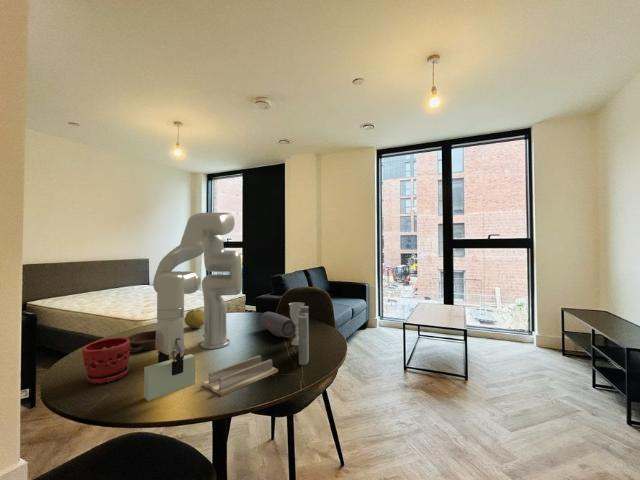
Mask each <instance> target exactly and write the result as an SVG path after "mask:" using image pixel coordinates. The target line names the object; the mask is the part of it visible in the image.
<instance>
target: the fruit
mask: <svg viewBox="0 0 640 480" xmlns="http://www.w3.org/2000/svg"><path fill="white" fill-rule="evenodd" d="M184 323H185V325H186V326H187V327H189V328H191V329H199V328H201V327H203V326H204V310H202V309H199V308H198V309H197V308H196V309H191V310H189V311H187V313H186V314H185V316H184Z"/></svg>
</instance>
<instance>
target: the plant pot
mask: <svg viewBox="0 0 640 480" xmlns="http://www.w3.org/2000/svg"><path fill="white" fill-rule="evenodd" d="M103 348H104V349H103ZM130 354H131V353H130V340H129V339H128V338H127V337H110V338H105V339H101V340H97V341H93V342H91V343H88V344H86V345H85V346H84V347H82V361H83V365H84V368H85V371H86V372H87V374H88V375H87V377H86V379H87V381H88V382H89V383H90V384H96V383H99V384H106V383H105V382H107V383H111V382H110V381H112V382H114V381H116V379H117V380H119V379H121V378H123V377H124V376H126V374H127V373H128V372H129V366H128V365H127V364H128V363H129V360H130ZM113 380H114V381H113Z"/></svg>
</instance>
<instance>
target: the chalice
mask: <svg viewBox="0 0 640 480" xmlns="http://www.w3.org/2000/svg"><path fill="white" fill-rule="evenodd" d="M288 305H289V316H290V319H291V320H292V321H293V323H294V324H295V325H296V328H295V329H296V330H295V333H294V334H295V337H294V338H293V339H292V341H291V344H290V345H292V346H299V309H300V307H301V306H305V302H300V301H298V302H296V301H295V302H294V301H293V302H290V303H288Z"/></svg>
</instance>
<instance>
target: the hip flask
mask: <svg viewBox="0 0 640 480" xmlns="http://www.w3.org/2000/svg"><path fill="white" fill-rule="evenodd" d="M309 308H310V307H309V305H304V306H301V307H300V309H299V324H298V328H299V329H298V332H299V333H298V337H299V345H298V364H299V365H300V366H306V365H308V363H309V360H310V350H309V349H310V344H309V343H310V341H309V339H310V335H309V333H310V332H309V331H310V330H309Z"/></svg>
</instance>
